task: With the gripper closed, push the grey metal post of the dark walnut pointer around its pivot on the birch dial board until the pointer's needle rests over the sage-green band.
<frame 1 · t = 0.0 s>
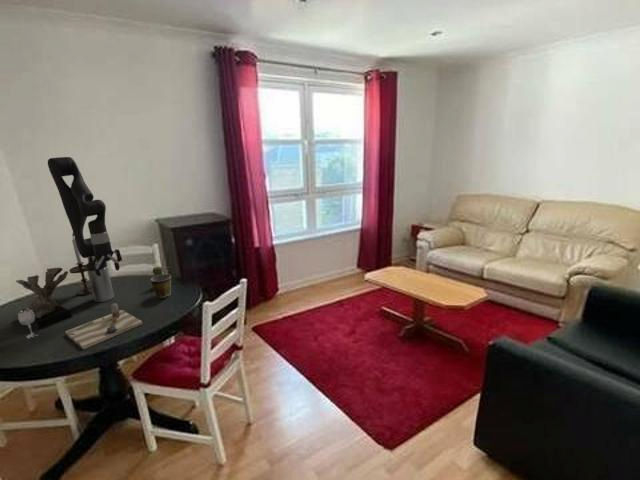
hand: (108, 272, 180), 17 cm above the table, tool pointing down, fingers open, 8 cm apart
ceramic cup: (162, 295, 194), on the table
dial board: (104, 329, 160), on the table
wineglass: (32, 336, 158), on the table
candlestick: (87, 292, 202), on the table
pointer: (113, 316, 161), point 5 cm above the table, hinge at 0.0°
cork: (160, 286, 206), on the table
coral: (52, 314, 178), on the table
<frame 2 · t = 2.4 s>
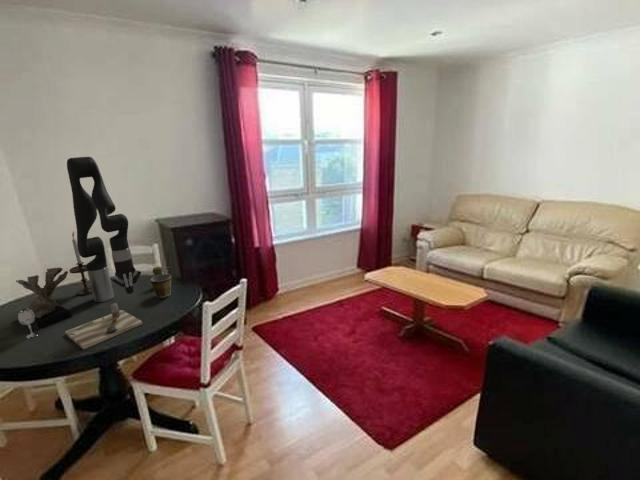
hand: (130, 293, 169), 11 cm above the table, tool pointing down, fingers closed
nothing on the table moved.
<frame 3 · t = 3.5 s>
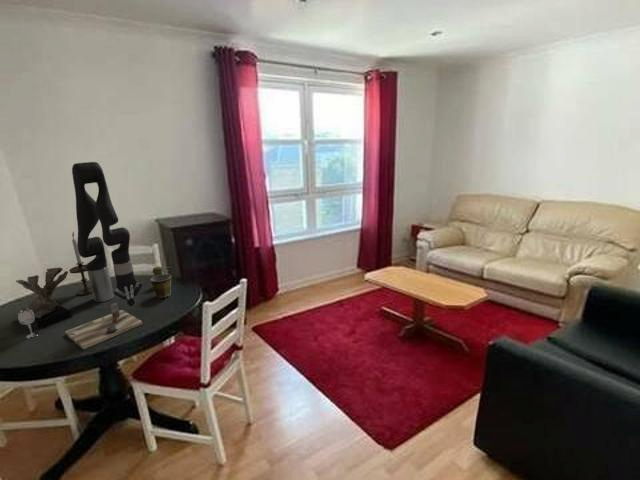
hand: (131, 305, 171), 5 cm above the table, tool pointing down, fingers closed
nothing on the table moved.
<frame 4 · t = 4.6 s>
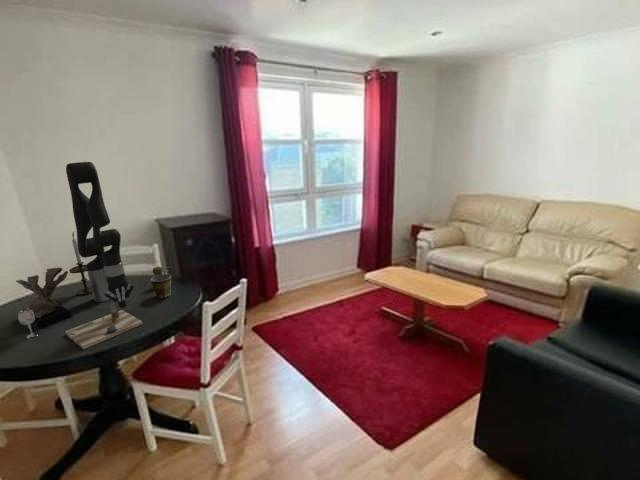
hand: (122, 307, 169), 5 cm above the table, tool pointing down, fingers closed
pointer: (112, 316, 161), point 5 cm above the table, hinge at 1.1°, touching gripper
everything else where it was.
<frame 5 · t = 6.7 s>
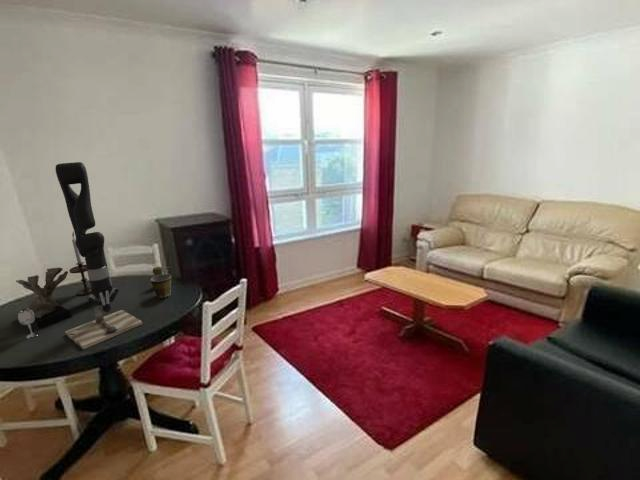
hand: (107, 311, 166), 5 cm above the table, tool pointing down, fingers closed
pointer: (103, 319, 159), point 5 cm above the table, hinge at 27.2°, touching gripper
everything else where it was.
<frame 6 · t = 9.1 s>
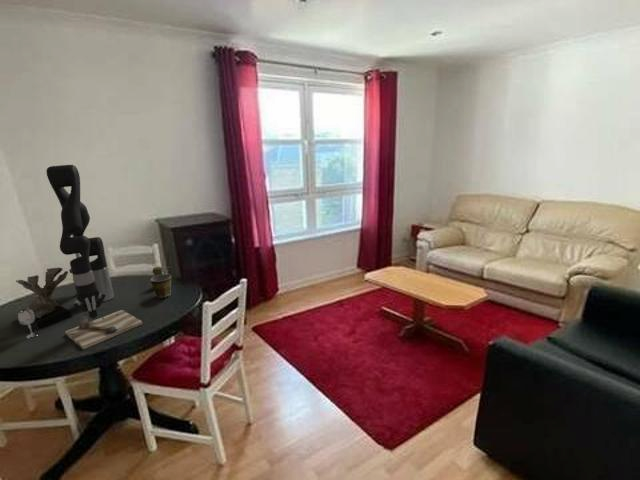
hand: (93, 317, 161), 5 cm above the table, tool pointing down, fingers closed
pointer: (95, 322, 156), point 5 cm above the table, hinge at 52.7°, touching gripper
everything else where it was.
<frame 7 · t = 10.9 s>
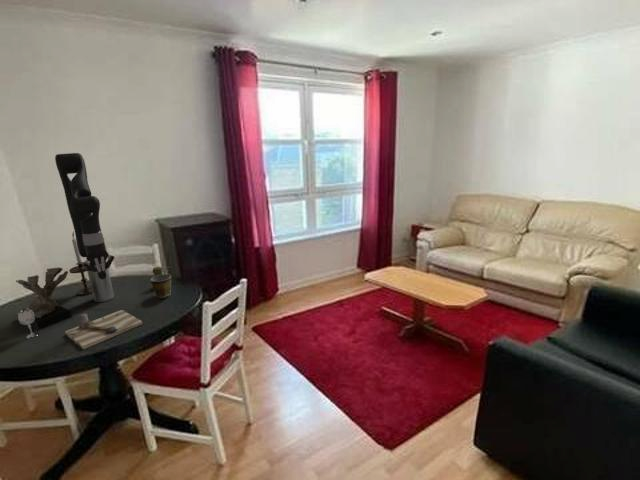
hand: (102, 278, 164), 20 cm above the table, tool pointing down, fingers closed
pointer: (95, 322, 156), point 5 cm above the table, hinge at 52.7°
everything else where it was.
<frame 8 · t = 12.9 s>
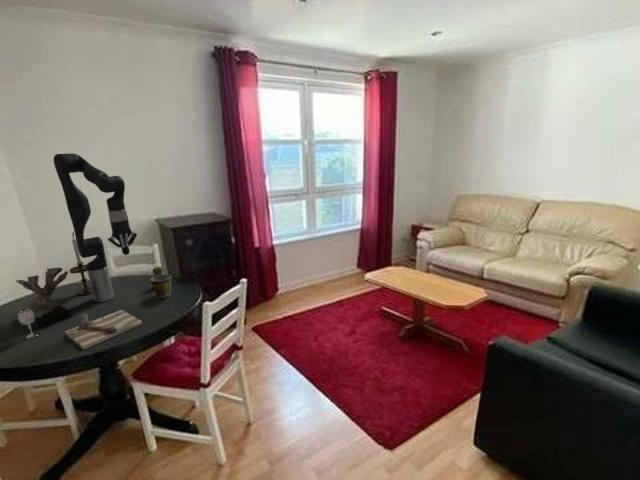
hand: (126, 254, 175), 27 cm above the table, tool pointing down, fingers closed
nothing on the table moved.
at the end: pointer at +53° (first picture: +0°) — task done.
